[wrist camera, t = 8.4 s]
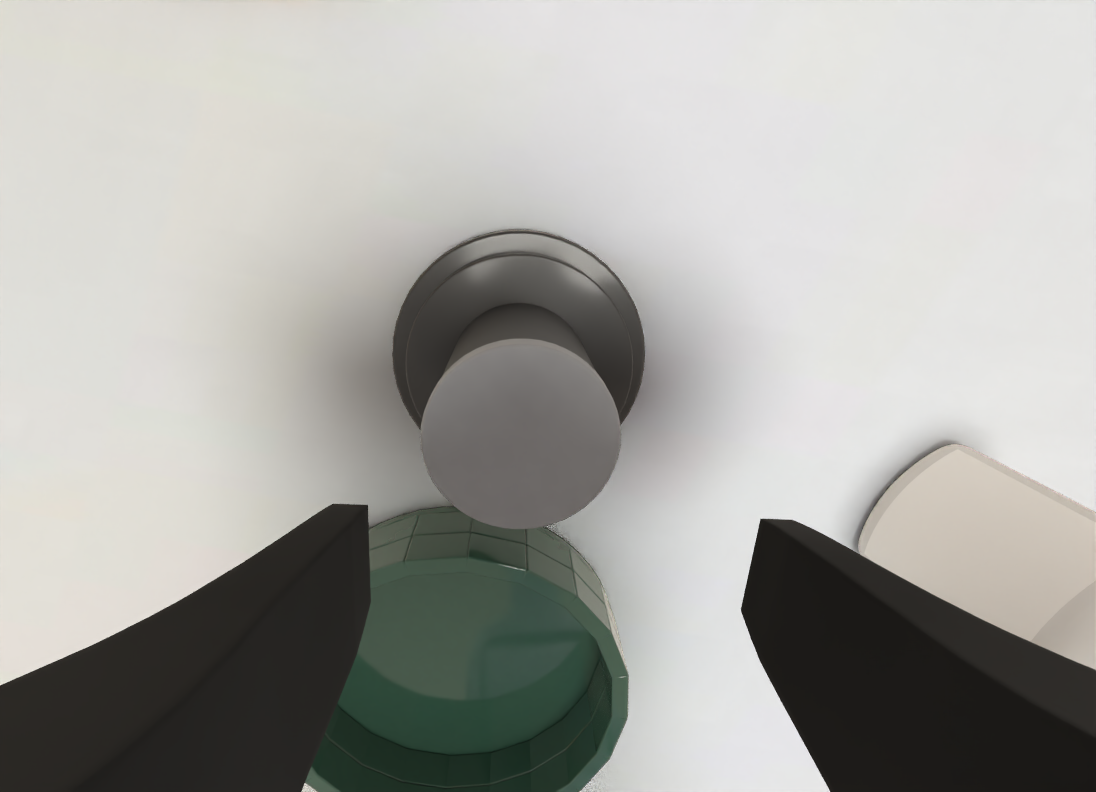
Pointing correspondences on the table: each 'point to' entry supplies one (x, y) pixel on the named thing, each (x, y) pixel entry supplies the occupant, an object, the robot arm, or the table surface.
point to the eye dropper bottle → (992, 547)
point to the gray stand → (517, 277)
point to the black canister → (520, 421)
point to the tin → (476, 665)
